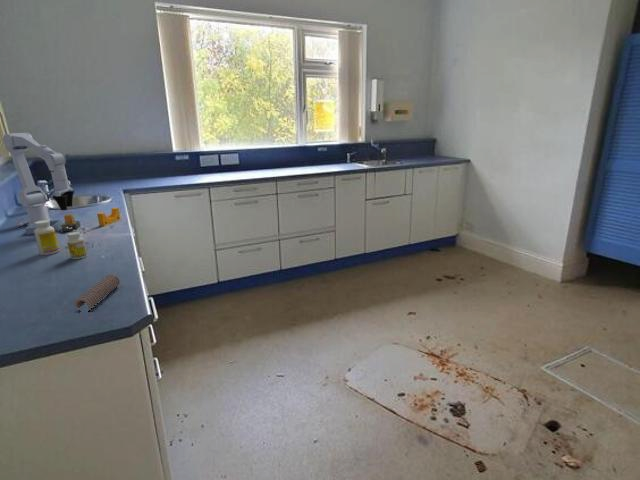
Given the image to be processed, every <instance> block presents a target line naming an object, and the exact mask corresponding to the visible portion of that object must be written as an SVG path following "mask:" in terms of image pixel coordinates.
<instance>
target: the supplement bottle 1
mask: <svg viewBox="0 0 640 480" xmlns="http://www.w3.org/2000/svg"><path fill="white" fill-rule="evenodd" d="M35 226H36V227H37V228H36V229H35V230H34V234H33V235H34V237H35V241H36V244H37V249H38V252H39V254H40V255H42V256H49V255H54V254H57V253H58V252H60V246H59V242H58V238H57V235H56V232H55V230H54V228H53V227H51V226H50V222H49V220H42V221H37V222H35Z"/></svg>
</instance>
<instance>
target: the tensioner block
mask: <svg viewBox="0 0 640 480" xmlns="http://www.w3.org/2000/svg"><path fill="white" fill-rule="evenodd" d="M80 227H81V221H80V220H75V222H74V223H72V224H66V223H65V222H63V224H62V225H61V232H62V233H63V234H65V233H68V234H69V233H72V232H74V230H78V228H80Z"/></svg>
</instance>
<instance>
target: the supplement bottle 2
mask: <svg viewBox="0 0 640 480" xmlns="http://www.w3.org/2000/svg"><path fill="white" fill-rule="evenodd" d="M67 238H68V239H67V240H66V241H67V242H66V243H67V247H68V251H69V255H70V258H71V259H72V260H80V258H81V259H85V258H86V257H88V252H87V248H86V244H85V240H84V238H83V237H82V236H81V233H80V231H72V232H68V234H67Z"/></svg>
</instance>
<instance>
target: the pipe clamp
mask: <svg viewBox="0 0 640 480" xmlns="http://www.w3.org/2000/svg"><path fill="white" fill-rule="evenodd" d="M110 212H111V213H110V214H108V215H106V213H105V212H97V220H98V225H99V227H106V226H108V225H111V224H114V223H116V222H118V220H119V221H121V214H120V209H119V207H112V208H111V211H110ZM115 221H116V222H115ZM113 222H114V223H113Z"/></svg>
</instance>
